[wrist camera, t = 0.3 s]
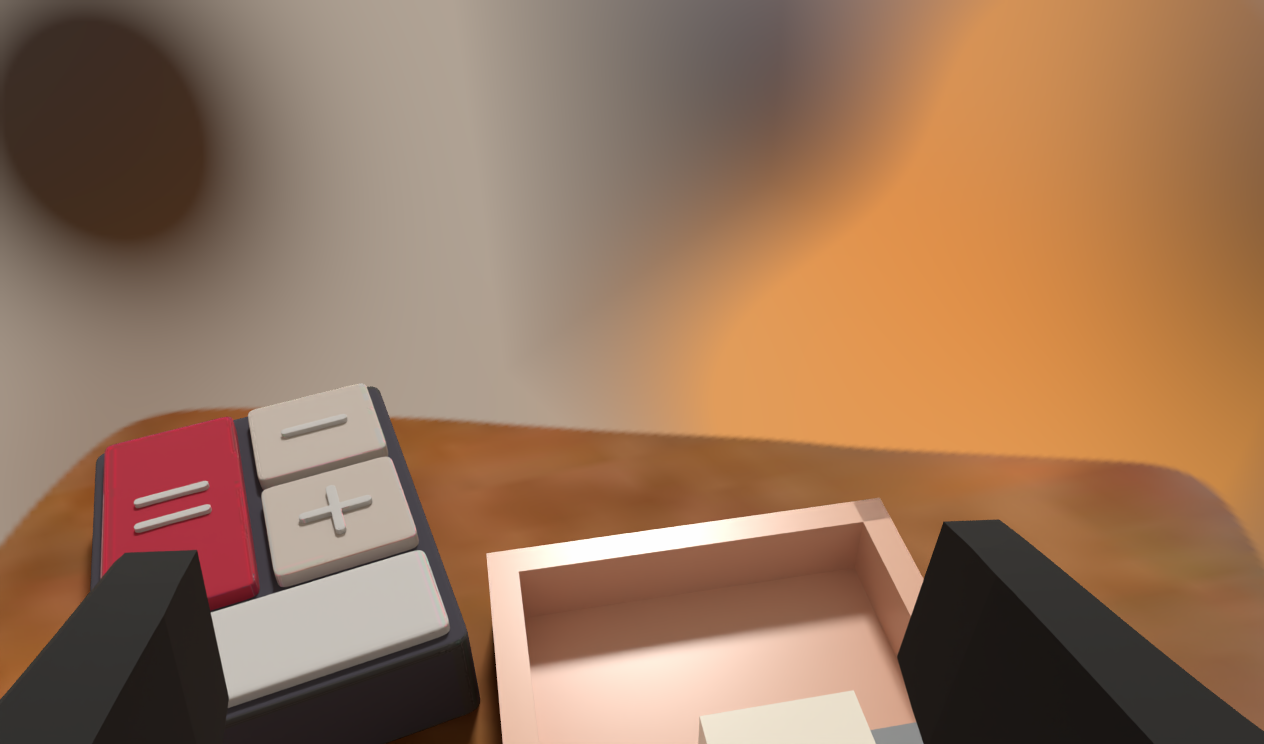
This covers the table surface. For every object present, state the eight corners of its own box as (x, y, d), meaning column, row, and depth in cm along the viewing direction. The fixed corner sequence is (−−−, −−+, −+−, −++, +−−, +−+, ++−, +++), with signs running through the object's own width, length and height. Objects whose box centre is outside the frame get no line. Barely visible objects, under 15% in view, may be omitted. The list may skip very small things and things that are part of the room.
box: (979, 780, 30) (1000, 723, 28) (517, 865, 28) (508, 810, 26) (868, 555, 37) (879, 497, 35) (494, 610, 35) (486, 553, 33)
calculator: (373, 367, 41) (467, 622, 30) (391, 447, 44) (484, 711, 32) (88, 437, 38) (70, 754, 26) (124, 520, 40) (122, 842, 29)
